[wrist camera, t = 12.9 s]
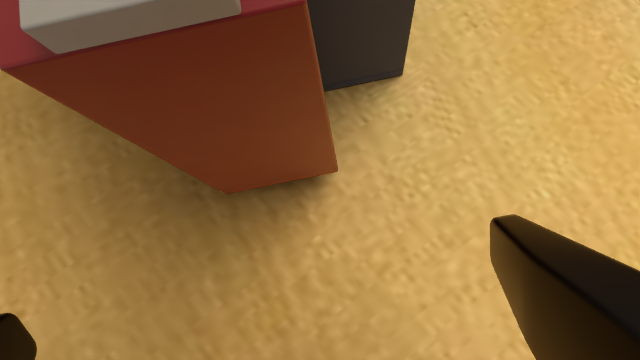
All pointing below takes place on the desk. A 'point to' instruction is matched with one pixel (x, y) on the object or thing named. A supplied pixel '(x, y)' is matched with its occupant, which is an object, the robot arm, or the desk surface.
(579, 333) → the robot arm
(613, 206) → the desk surface
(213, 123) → the red post with hook
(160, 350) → the desk surface
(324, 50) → the storage box
